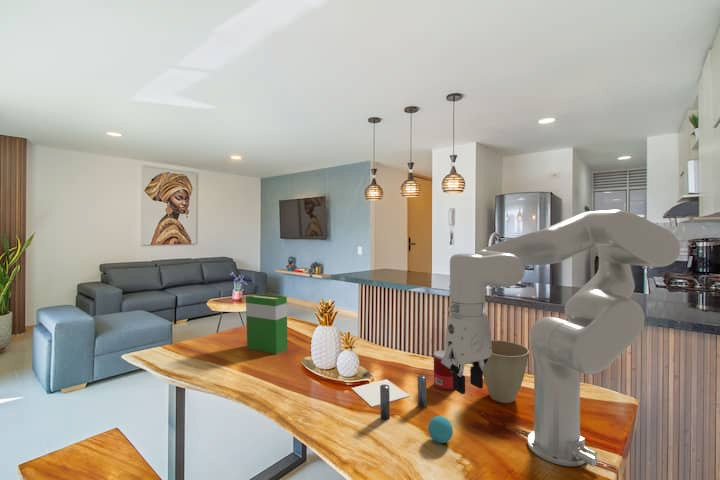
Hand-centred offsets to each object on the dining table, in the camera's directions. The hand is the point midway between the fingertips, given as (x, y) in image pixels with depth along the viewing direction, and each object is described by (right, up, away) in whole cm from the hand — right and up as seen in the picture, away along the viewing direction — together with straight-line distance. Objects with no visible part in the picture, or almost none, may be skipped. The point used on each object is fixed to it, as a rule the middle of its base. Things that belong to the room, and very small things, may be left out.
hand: (467, 388), depth 78 cm
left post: (-17, -17, +20) cm, 32 cm away
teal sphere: (-4, -14, +9) cm, 17 cm away
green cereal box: (-67, -16, +80) cm, 106 cm away
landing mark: (-18, -17, +36) cm, 43 cm away
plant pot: (+21, -16, +31) cm, 40 cm away
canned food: (+5, -16, +39) cm, 43 cm away
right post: (-6, -17, +26) cm, 32 cm away
